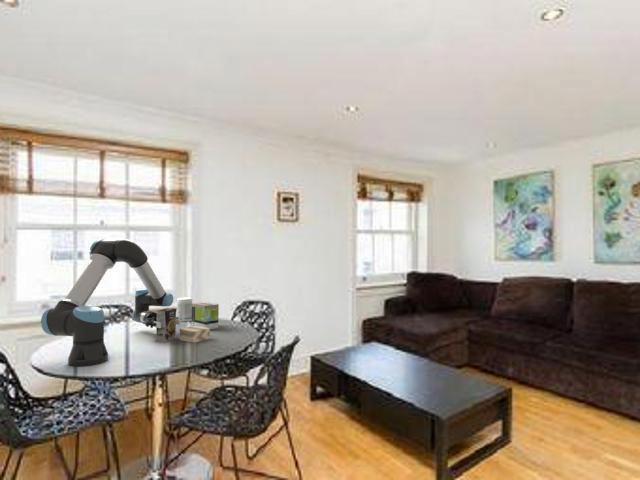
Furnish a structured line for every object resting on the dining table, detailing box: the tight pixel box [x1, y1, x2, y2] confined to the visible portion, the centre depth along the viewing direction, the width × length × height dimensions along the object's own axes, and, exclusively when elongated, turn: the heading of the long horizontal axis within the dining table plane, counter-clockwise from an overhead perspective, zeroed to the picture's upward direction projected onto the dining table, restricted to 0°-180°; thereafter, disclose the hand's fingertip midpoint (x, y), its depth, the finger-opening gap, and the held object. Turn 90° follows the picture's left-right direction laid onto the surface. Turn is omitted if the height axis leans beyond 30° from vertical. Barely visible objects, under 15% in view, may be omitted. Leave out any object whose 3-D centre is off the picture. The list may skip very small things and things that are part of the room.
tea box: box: [191, 301, 220, 330], centre depth 245 cm, size 15×10×15 cm, turn 49°
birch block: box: [179, 325, 211, 344], centre depth 216 cm, size 11×11×6 cm
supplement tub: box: [176, 297, 193, 323], centre depth 266 cm, size 10×10×15 cm
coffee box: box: [155, 308, 177, 343], centre depth 215 cm, size 9×6×16 cm
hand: (170, 323), depth 212 cm, fingers closed on coffee box, 10 cm apart
